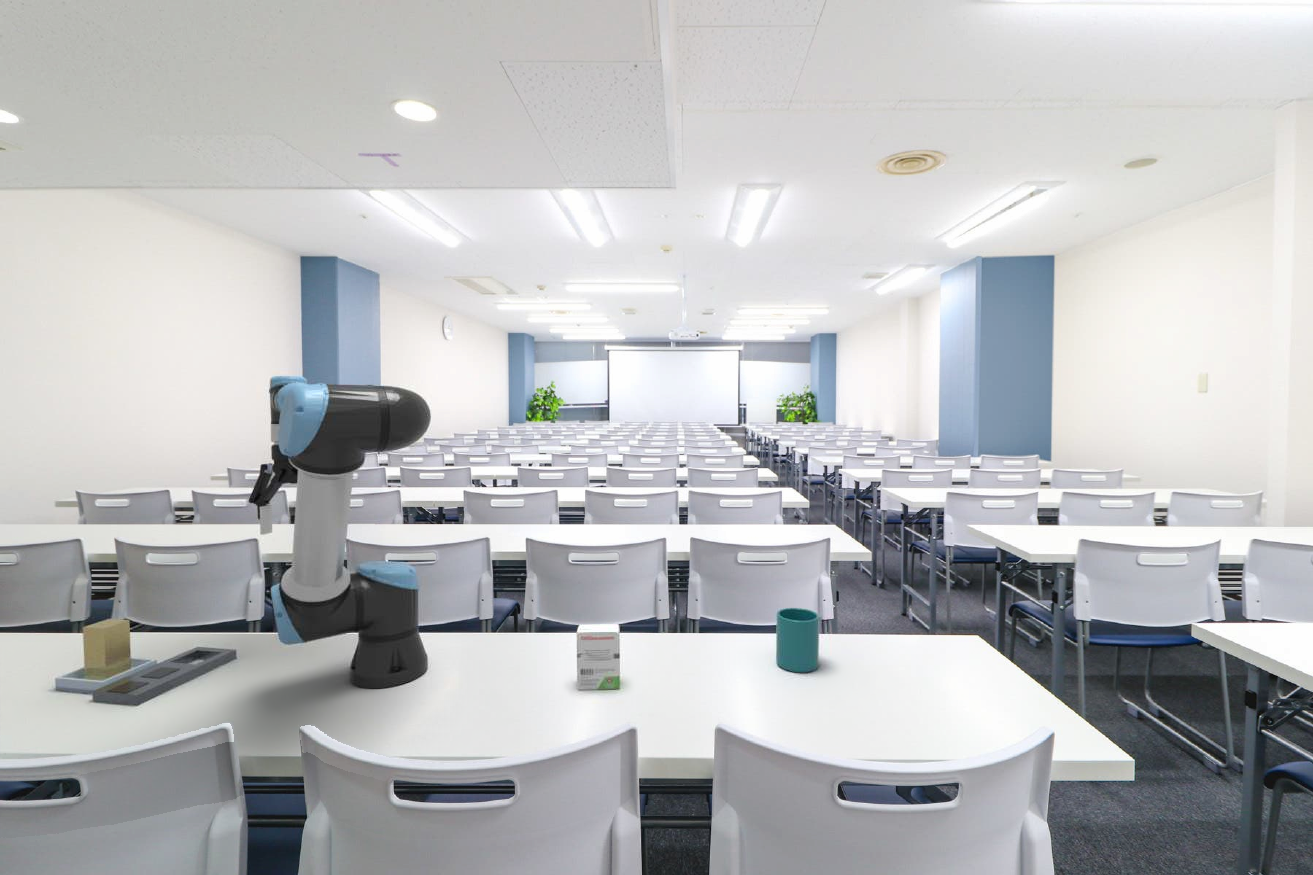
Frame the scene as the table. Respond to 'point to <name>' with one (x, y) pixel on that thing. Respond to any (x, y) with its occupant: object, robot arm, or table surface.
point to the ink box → (598, 657)
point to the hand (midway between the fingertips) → (292, 534)
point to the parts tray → (81, 685)
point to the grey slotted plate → (163, 676)
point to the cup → (797, 640)
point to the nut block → (106, 649)
